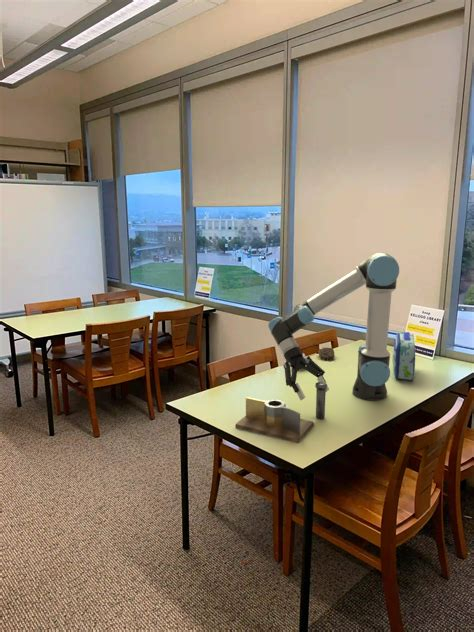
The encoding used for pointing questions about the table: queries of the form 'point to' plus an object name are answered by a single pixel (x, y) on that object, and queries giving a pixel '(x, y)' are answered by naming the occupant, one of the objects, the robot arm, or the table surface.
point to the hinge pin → (320, 399)
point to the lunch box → (404, 356)
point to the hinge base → (274, 429)
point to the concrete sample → (326, 353)
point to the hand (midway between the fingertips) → (315, 395)
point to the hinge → (273, 414)
